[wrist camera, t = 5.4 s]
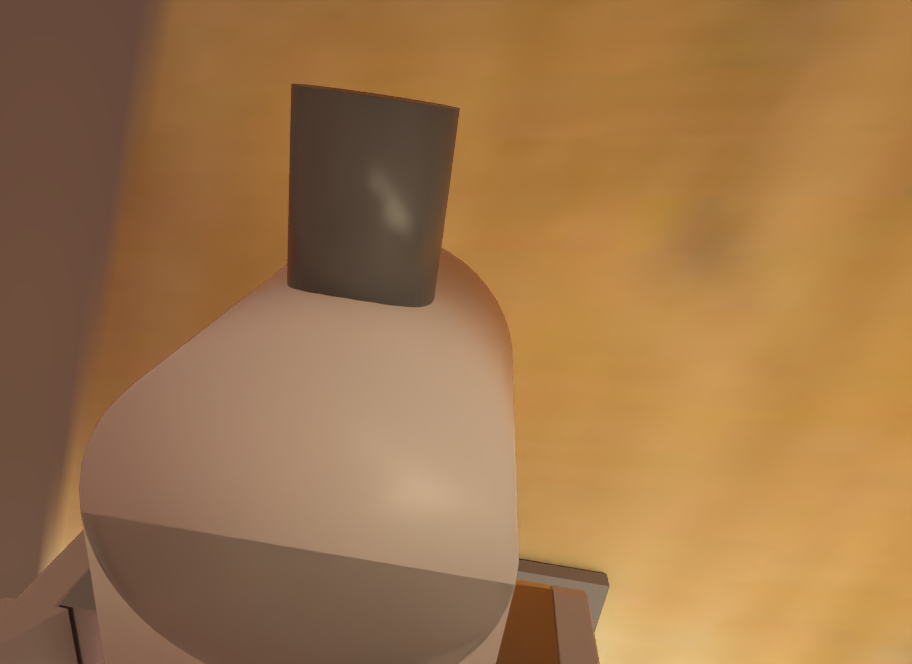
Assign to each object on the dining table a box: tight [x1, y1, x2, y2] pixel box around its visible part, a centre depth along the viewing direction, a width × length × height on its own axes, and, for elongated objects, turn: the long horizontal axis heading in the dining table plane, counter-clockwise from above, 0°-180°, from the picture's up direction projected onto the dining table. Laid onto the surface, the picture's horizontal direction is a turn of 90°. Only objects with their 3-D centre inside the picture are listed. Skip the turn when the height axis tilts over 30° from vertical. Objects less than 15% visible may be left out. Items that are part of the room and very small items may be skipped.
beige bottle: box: [79, 84, 519, 664], centre depth 8 cm, size 14×4×4 cm, turn 172°
